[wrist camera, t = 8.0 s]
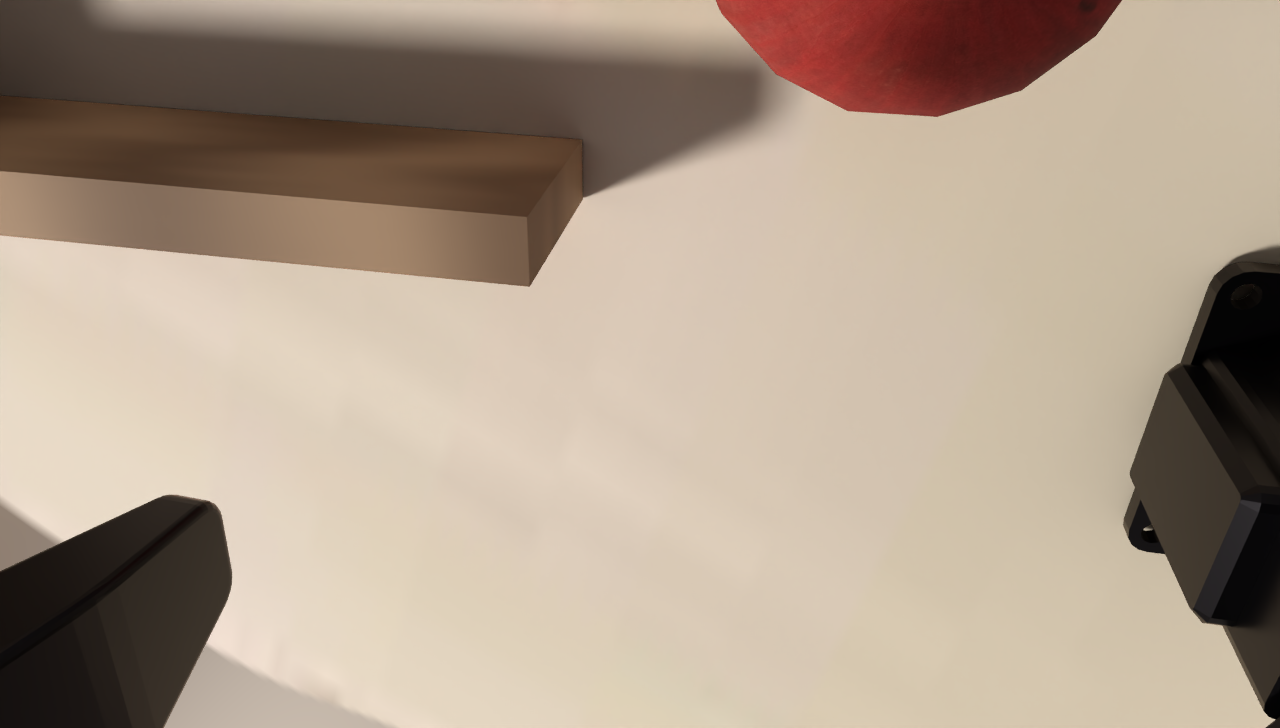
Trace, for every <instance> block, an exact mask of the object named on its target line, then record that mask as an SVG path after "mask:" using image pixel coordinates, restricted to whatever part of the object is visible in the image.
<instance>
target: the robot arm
mask: <svg viewBox="0 0 1280 728" xmlns="http://www.w3.org/2000/svg"><path fill="white" fill-rule="evenodd" d="M1245 284H1254V289H1253V290H1252V291H1251V293H1250V294H1249V295H1248V296H1246V297H1244V298H1242V299H1237V300H1232V299H1231V295H1232V293H1233V292H1234V291H1235V289H1237V288H1238V287H1240V286H1242V285H1245ZM1130 477H1131V479H1132V482H1133V484H1134V486H1135V489H1134V492H1133V495H1132V498H1131V500H1130V503H1129V506H1128V508H1127V511H1126V514H1125V517H1124V523H1123V526H1124V529H1125V531H1126V533H1127V536H1128V538H1129V540H1130V542H1131V544H1132V545H1133V546H1134V547H1136V548H1137V549H1139V550H1142V551H1146V552H1153V553H1161V554H1166V556H1167V559H1168V561H1169V563H1170V565H1171V567H1172V570H1173V572H1174V574H1175V576H1176V578H1177V581H1178V583H1179V585H1180V587H1181V589H1182V592H1183V594H1184V596H1185V598H1186V600H1187V603H1188V605H1189V607H1190V609H1191V610H1192V611H1193V612H1194V613H1195V615H1196V616H1197V617H1198V618H1199V619H1200V621H1201V622H1202V623H1207V624H1215V625H1222V626H1223V628H1224V630H1225V632H1226V634H1227V636H1228V638H1229V640H1230V642H1231V644H1232V646H1233V648H1234V650H1235V653H1236V655H1237V657H1238V659H1239V661H1240V663H1241V665H1242V667H1243V669H1244V671H1245V673H1246V675H1247V677H1248V679H1249V681H1250V684H1251V686H1252V688H1253V690H1254V692H1255V694H1256V696H1257V698H1258V700H1259V702H1260V704H1261V706H1262V708H1263V710H1264V712H1265V713H1266V714H1267V715H1268V716H1269V717H1271V718H1273V719H1276V720H1275V721H1273V722H1272V723H1271V724H1270V725H1268V726H1267V727H1266V728H1280V265H1276V264H1264V263H1253V262H1243V263H1235V264H1232V265H1230V266H1227V267H1225V268H1223V269H1222V270H1221V271H1219V272H1218V273H1217V274H1216V275H1215V276H1214V277H1213V279H1212V281H1211V282H1210V284H1209V286H1208V289H1207V292H1206V294H1205V297H1204V300H1203V303H1202V305H1201V308H1200V311H1199V314H1198V316H1197V319H1196V322H1195V325H1194V327H1193V330H1192V333H1191V336H1190V338H1189V341H1188V344H1187V347H1186V349H1185V352H1184V355H1183V358H1182V360H1181V363H1179V364H1177V365H1176V366H1174V367H1173V368H1172V369H1171V370H1169V371H1168V372H1167V373H1166V374H1165V375H1164V378H1163V381H1162V383H1161V386H1160V389H1159V392H1158V395H1157V397H1156V400H1155V403H1154V406H1153V409H1152V411H1151V414H1150V417H1149V420H1148V423H1147V425H1146V428H1145V431H1144V434H1143V437H1142V439H1141V442H1140V445H1139V448H1138V451H1137V453H1136V456H1135V459H1134V462H1133V465H1132V467H1131V470H1130ZM1151 524H1152V526H1153V528H1154V530H1149V531H1144V530H1143V529H1144V528H1145V527H1147V526H1149V525H1151ZM231 585H232V569H231V564H230V558H229V553H228V547H227V542H226V536H225V531H224V525H223V520H222V515H221V512H220V510H219V509H218V507H217V506H216V505H215V504H214V503H211V502H210V501H206V500H201V499H196V498H190V497H185V496H179V495H165V496H162V497H159V498H157V499H154V500H152V501H150V502H148V503H146V504H144V505H142V506H139V507H137V508H135V509H133V510H131V511H129V512H126V513H124V514H122V515H120V516H118V517H116V518H114V519H111V520H109V521H107V522H105V523H103V524H101V525H98V526H96V527H94V528H92V529H90V530H88V531H86V532H83V533H81V534H79V535H77V536H75V537H73V538H71V539H68V540H66V541H64V542H62V543H60V544H58V545H55V546H53V547H51V548H49V549H47V550H45V551H43V552H40V553H38V554H36V555H34V556H32V557H30V558H28V559H25V560H23V561H21V562H19V563H17V564H15V565H12V566H10V567H8V568H6V569H4V570H2V571H0V728H164V726H165V724H166V722H167V720H168V718H169V716H170V714H171V712H172V710H173V708H174V706H175V704H176V702H177V700H178V698H179V696H180V694H181V692H182V690H183V688H184V686H185V684H186V682H187V680H188V678H189V676H190V674H191V672H192V670H193V668H194V666H195V664H196V662H197V660H198V658H199V656H200V654H201V652H202V650H203V648H204V646H205V644H206V642H207V640H208V638H209V636H210V634H211V632H212V630H213V628H214V626H215V624H216V622H217V620H218V618H219V616H220V614H221V612H222V610H223V608H224V606H225V604H226V602H227V600H228V597H229V594H230V590H231Z"/></svg>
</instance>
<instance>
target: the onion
mask: <svg viewBox="0 0 1280 728" xmlns="http://www.w3.org/2000/svg"><path fill="white" fill-rule="evenodd" d="M1121 1H1122V0H716V2H717V5H718V7H719V9H720V11H721V13H722V14H723V16H724V17H725V18H726V19H727V20H728V21H729V22H730V23H731V24H732V26H733V27H734V28H735V29H736V30H737V31H738V32H739V33H740V34H741V36H742V37H743V38H744V39H745V40H746V41H747V42H748V43H749V44H750V46H751V47H752V48H753V49H754V50H755V51H756V52H757V53H758V54H759V56H760V57H761V58H762V59H763V60H764V61H765V62H766V63H767V64H768V66H769V67H770V68H771V69H772V70H773V71H774V72H775V73H776V74H777V75H779V76H781V77H783V78H785V79H786V80H788V81H790V82H792V83H794V84H796V85H798V86H800V87H802V88H804V89H806V90H808V91H810V92H812V93H814V94H816V95H818V96H819V97H821V98H823V99H825V100H827V101H829V102H831V103H833V104H835V105H837V106H839V107H841V108H843V109H845V110H847V111H855V112H871V113H887V114H904V115H920V116H934V117H938V116H941V115H944V114H948V113H951V112H954V111H957V110H960V109H964V108H967V107H970V106H973V105H976V104H980V103H983V102H986V101H989V100H992V99H996V98H999V97H1002V96H1005V95H1008V94H1012V93H1015V92H1018V91H1021V90H1023V89H1024V88H1025V87H1027V86H1028V85H1029V84H1031V83H1032V82H1033V81H1035V80H1036V79H1038V78H1039V77H1040V76H1042V75H1043V74H1044V73H1046V72H1047V71H1048V70H1050V69H1051V68H1053V67H1054V66H1055V65H1057V64H1058V63H1059V62H1061V61H1062V60H1063V59H1065V58H1066V57H1068V56H1069V55H1070V54H1072V53H1073V52H1074V51H1076V50H1077V49H1078V48H1080V47H1081V46H1083V45H1084V44H1085V43H1087V42H1088V41H1089V40H1091V39H1092V38H1094V37H1095V36H1096V35H1097V34H1098V32H1099V31H1100V30H1101V28H1102V27H1103V25H1104V24H1105V23H1106V21H1107V20H1108V19H1109V17H1110V16H1111V15H1112V13H1113V12H1114V10H1115V9H1116V8H1117V6H1118V5H1119V4H1120V2H1121Z"/></svg>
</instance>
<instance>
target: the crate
mask: <svg viewBox="0 0 1280 728" xmlns="http://www.w3.org/2000/svg"><path fill="white" fill-rule="evenodd" d="M582 200H583V178H582V140H579V139H565V138H552V137H539V136H526V135H513V134H500V133H487V132H473V131H460V130H447V129H434V128H421V127H408V126H395V125H381V124H368V123H355V122H342V121H329V120H316V119H303V118H289V117H276V116H263V115H250V114H237V113H224V112H210V111H197V110H184V109H171V108H158V107H145V106H132V105H118V104H105V103H92V102H79V101H66V100H53V99H40V98H26V97H13V96H0V235H2V236H13V237H23V238H33V239H44V240H54V241H64V242H75V243H85V244H95V245H105V246H116V247H126V248H136V249H147V250H157V251H167V252H178V253H188V254H198V255H209V256H219V257H229V258H240V259H250V260H260V261H271V262H281V263H291V264H301V265H312V266H322V267H332V268H343V269H353V270H363V271H374V272H384V273H394V274H405V275H415V276H425V277H436V278H446V279H456V280H467V281H477V282H487V283H498V284H508V285H518V286H528V287H530V285H531V283H532V282H533V280H534V279H535V277H536V275H537V274H538V272H539V270H540V269H541V267H542V265H543V264H544V262H545V260H546V259H547V257H548V255H549V254H550V252H551V251H552V249H553V247H554V246H555V244H556V242H557V241H558V239H559V237H560V236H561V234H562V232H563V231H564V229H565V227H566V226H567V224H568V223H569V221H570V219H571V218H572V216H573V214H574V213H575V211H576V209H577V208H578V206H579V204H580V203H581V201H582Z"/></svg>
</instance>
